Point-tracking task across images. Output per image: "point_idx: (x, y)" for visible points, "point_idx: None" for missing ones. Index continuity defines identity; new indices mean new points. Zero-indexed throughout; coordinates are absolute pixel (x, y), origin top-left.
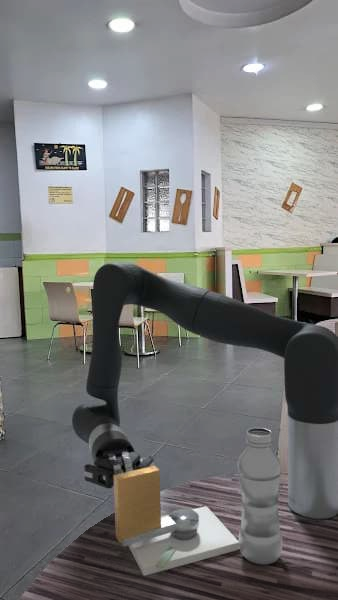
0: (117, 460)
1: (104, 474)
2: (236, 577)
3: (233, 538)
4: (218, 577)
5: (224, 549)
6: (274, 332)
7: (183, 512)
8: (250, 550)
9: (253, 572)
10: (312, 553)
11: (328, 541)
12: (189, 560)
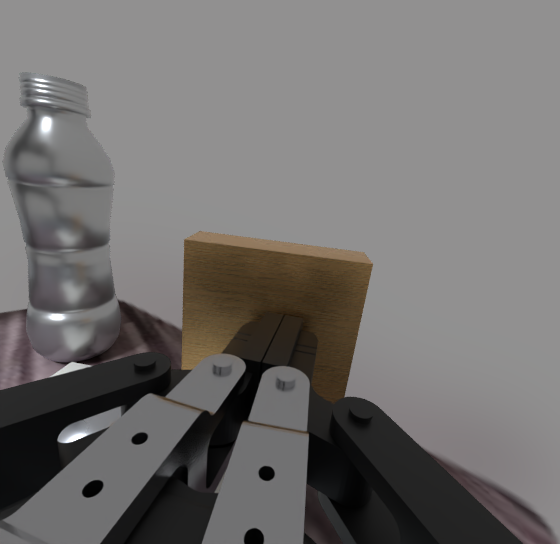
0: (213, 512)
1: (394, 431)
2: (158, 346)
3: (62, 372)
4: (178, 357)
5: None
6: None
7: (68, 426)
8: (120, 317)
9: (129, 340)
10: (22, 321)
11: None
12: None
